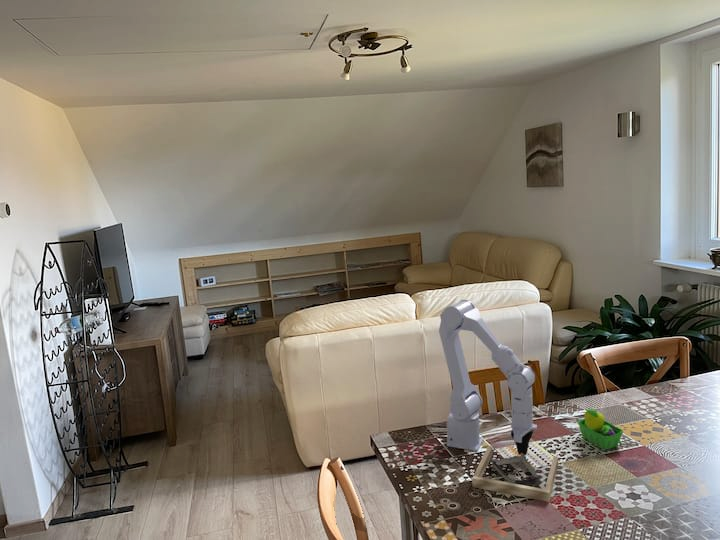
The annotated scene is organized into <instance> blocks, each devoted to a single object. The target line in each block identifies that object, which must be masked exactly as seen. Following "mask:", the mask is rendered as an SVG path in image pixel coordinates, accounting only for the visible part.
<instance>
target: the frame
mask: <svg viewBox="0 0 720 540" xmlns="http://www.w3.org/2000/svg"><path fill="white" fill-rule="evenodd" d="M493 452H494V451H493V446H492V445H488V446H487V448H486V449H485V451H484V454H483V455H482V458H481V460H480V462H479V464H478V465H477V468H476V470H475V472H474V474H473V476H472V480H471V482H472V485H471V486H472V488H477V489H482V490H487V491H492V492H497V493H501V494H506V495H513V496H518V497H522V498H527V499H532V500H537V501H542V502H548V503H549V502H550V500H551V497H552V493H553V488H554V486H555V485H554V484H555V480H556V476H557V471H558V467H559V456H553V457H552V462H551V465H550V469H549V471H548V476H547V480H546V484H545V487H544V488H542V487H541V488H539V487H534V486H531V485H528V486H525V485H519V484H514V483H509V482H508V481H502V480H497V479H491V478H486V477H483V476H484V473H486V472H485V471H486V469H487V467H488V465H489V463H490V461H489V458H490V460H491V459H492V456H493Z"/></svg>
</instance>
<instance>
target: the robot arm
mask: <svg viewBox="0 0 720 540" xmlns="http://www.w3.org/2000/svg"><path fill="white" fill-rule="evenodd" d="M439 316H440V323H439V329H438V332H439V338H440V341H441V345H442V349H443V353H444V356H445V362H446V365H447V368H448V369H447V370H448V373H449V378H450V379H451V380H450V381H451V385H452V390H451V393H450V395H449V398H450V406H449V410H450V413H449V414H448V416H447V419H446V420H447V421H446V438H447V439H446V440H447V443H446V447H451V448H457V449H464V450H470V451H475V452H477V451H479V449H480V447H481V445H482V443H483V441H484V437H482V436H480V414H479V413H480V412H479V411H480V409H481V407H482V405H483V398H482V396H481V394H480V393H479V392H478V390H477V386H476V385H474V384H473V383H471V379H470V374H469V370H468V367H467V362H466V359H465V356H464V355H465V354H464V351H463V347H462V343H461V339H460V335H459V333H460V331H468V332H472V333H473V334H474V335H475V336H476V337H477V338H478V339H479V340H480V341H481V342H482V344H483V345H484V346H486V348H487V350H489V351H490V352H491V360H492V361H493V362H494V363H495V365H496V366H497V368H498V369H500V371H501V372H502V373H503V374H504V376H505V377H506V378H507V380H506V382H507V387H508V388H509V389H510V397H511V401H510V403H511V404H510V405H511V406H510V407H511V408H510V409H511V412H510V413H511V422H510V427H511V431H510V436H511V438H512V439H513V442H514V443H515V447H516V450H517V454H518V456H521V453H523V454H524V455H525V457H526V456H527V453H528V449H529V445H530V441H531V439H532V437H533V434H534V431H535V430H537V428H538V424H534V421H533V420H534V419H533V417H534V416H533V415H534V414H533V384H534V382H535V381H536V374H535V372H534V370H533V369H532V368H531V366H529V365H525V363H522V362H521V361H520V359H519V358H518V357H517V356H516V354H515V351H514V350H513V349H512V348H509V346H508V345H504V344H501V343H500V341H499V340H498V338H497V337H496V335H495V334H494V333H493V331H492V330H491V328H490V327H489V326H488V325H487V323H486V322H485V321H484V319H483V317H482V315H481V312H480V309H478V308H477V307H475V304H474V303H473V302H472V301H470V300H469V299H461V300H459V301H458V302H457V303H453V304H452V305H449V306H446V307H445V308H444V309H443V311H442V312H441V313H440V314H439Z"/></svg>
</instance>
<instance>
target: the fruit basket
mask: <svg viewBox="0 0 720 540" xmlns="http://www.w3.org/2000/svg"><path fill="white" fill-rule="evenodd" d="M576 422H577V424H578V426H579V430H580V433H581V436H582V438H583V439H585V440H587V441H589V443H592V444H594V445H595V446H596V447H598V448H600V449H601V450H603V451H606V450H609V449H613V448H616V447H618V446H619V442H620V440H621V437H622V435H623V433H624V430H623V429H621V428H620V427H618V426H617V425H613V424H612V423H610V422H608V421H607V420H606V419H605V416H604V415H603V414H602V413H600V412H599V411H597V410H596V409H595V408H589V409H586V411H585V412H584V418H583V419H582V418H581V419H579V420H577V421H576Z"/></svg>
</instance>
